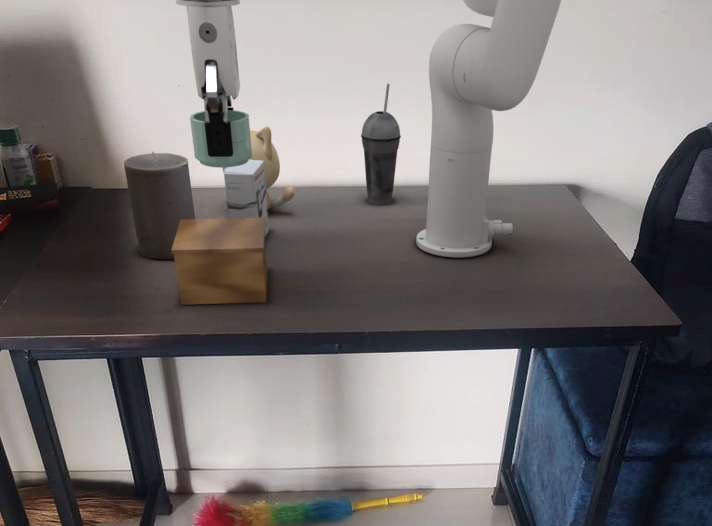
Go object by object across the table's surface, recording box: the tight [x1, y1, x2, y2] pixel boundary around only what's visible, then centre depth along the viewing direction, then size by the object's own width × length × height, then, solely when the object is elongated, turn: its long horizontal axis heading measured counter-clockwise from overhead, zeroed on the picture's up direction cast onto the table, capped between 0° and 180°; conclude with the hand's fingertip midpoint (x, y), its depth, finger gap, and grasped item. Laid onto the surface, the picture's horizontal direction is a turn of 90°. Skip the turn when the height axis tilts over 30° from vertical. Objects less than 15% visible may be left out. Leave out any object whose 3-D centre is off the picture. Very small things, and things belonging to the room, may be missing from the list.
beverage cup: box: [360, 83, 402, 206], centre depth 140 cm, size 7×7×20 cm
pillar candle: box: [123, 151, 196, 260], centre depth 121 cm, size 10×10×15 cm
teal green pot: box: [189, 109, 252, 168], centre depth 101 cm, size 8×8×6 cm
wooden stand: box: [171, 218, 268, 306], centre depth 111 cm, size 12×12×8 cm
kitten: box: [222, 126, 296, 211], centre depth 137 cm, size 15×10×15 cm
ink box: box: [223, 160, 270, 237], centre depth 126 cm, size 9×5×12 cm, turn 174°
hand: (222, 146), depth 102 cm, fingers closed on teal green pot, 7 cm apart
